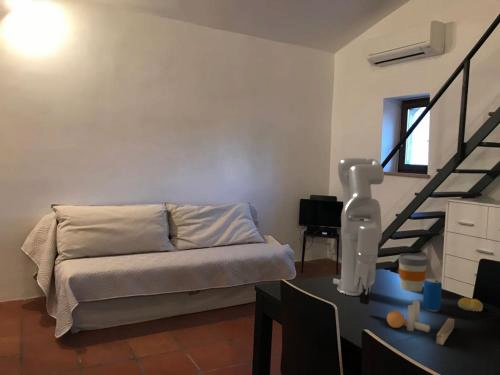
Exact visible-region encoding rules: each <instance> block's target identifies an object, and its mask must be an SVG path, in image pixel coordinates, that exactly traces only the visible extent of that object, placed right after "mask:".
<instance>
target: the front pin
mask: <svg viewBox="0 0 500 375" xmlns="http://www.w3.org/2000/svg"><path fill="white" fill-rule="evenodd" d="M403 326H404V327H407V318H406V319H405V318H404V324H403ZM414 330H419V331H421V332H425V333H430V332H431V325H428V324H425V323H422V322H419V323H418V322H414Z"/></svg>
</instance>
